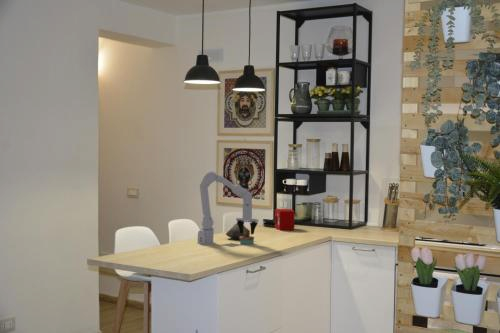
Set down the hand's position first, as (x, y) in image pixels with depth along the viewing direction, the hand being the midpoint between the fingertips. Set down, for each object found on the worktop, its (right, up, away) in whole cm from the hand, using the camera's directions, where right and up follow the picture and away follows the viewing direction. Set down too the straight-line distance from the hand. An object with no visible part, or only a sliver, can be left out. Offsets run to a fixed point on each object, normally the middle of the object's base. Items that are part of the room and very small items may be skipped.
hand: (246, 233), depth 375 cm
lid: (0, -3, 0) cm, 3 cm away
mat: (-9, -7, -6) cm, 13 cm away
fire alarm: (+27, -5, +77) cm, 82 cm away
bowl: (0, -7, 0) cm, 6 cm away
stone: (-6, -6, +20) cm, 22 cm away
